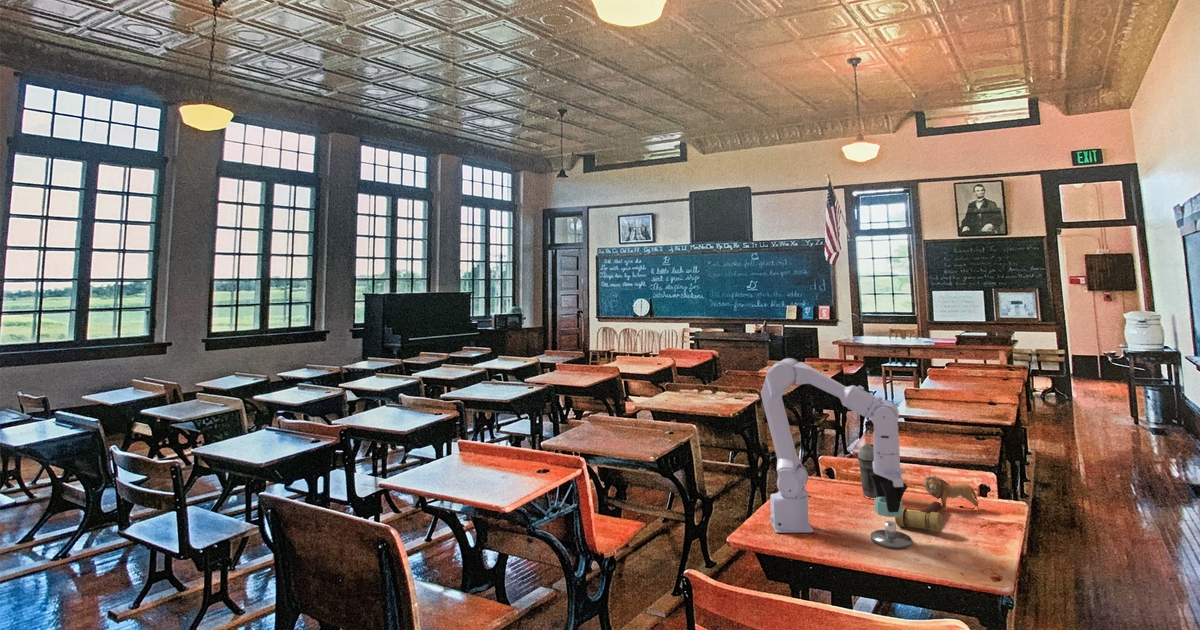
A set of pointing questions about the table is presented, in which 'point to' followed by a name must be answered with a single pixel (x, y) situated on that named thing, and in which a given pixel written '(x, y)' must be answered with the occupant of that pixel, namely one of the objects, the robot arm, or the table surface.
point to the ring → (885, 508)
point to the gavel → (922, 518)
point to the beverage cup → (867, 468)
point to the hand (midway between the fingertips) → (888, 507)
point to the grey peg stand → (891, 537)
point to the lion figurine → (948, 490)
